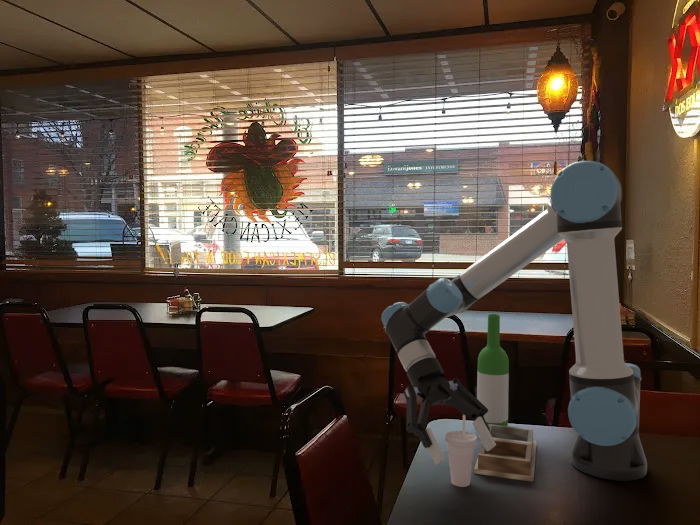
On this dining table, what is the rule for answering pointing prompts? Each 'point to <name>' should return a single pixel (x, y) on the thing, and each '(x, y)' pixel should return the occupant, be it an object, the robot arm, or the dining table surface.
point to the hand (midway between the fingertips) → (466, 454)
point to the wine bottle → (493, 376)
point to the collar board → (508, 454)
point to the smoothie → (460, 455)
